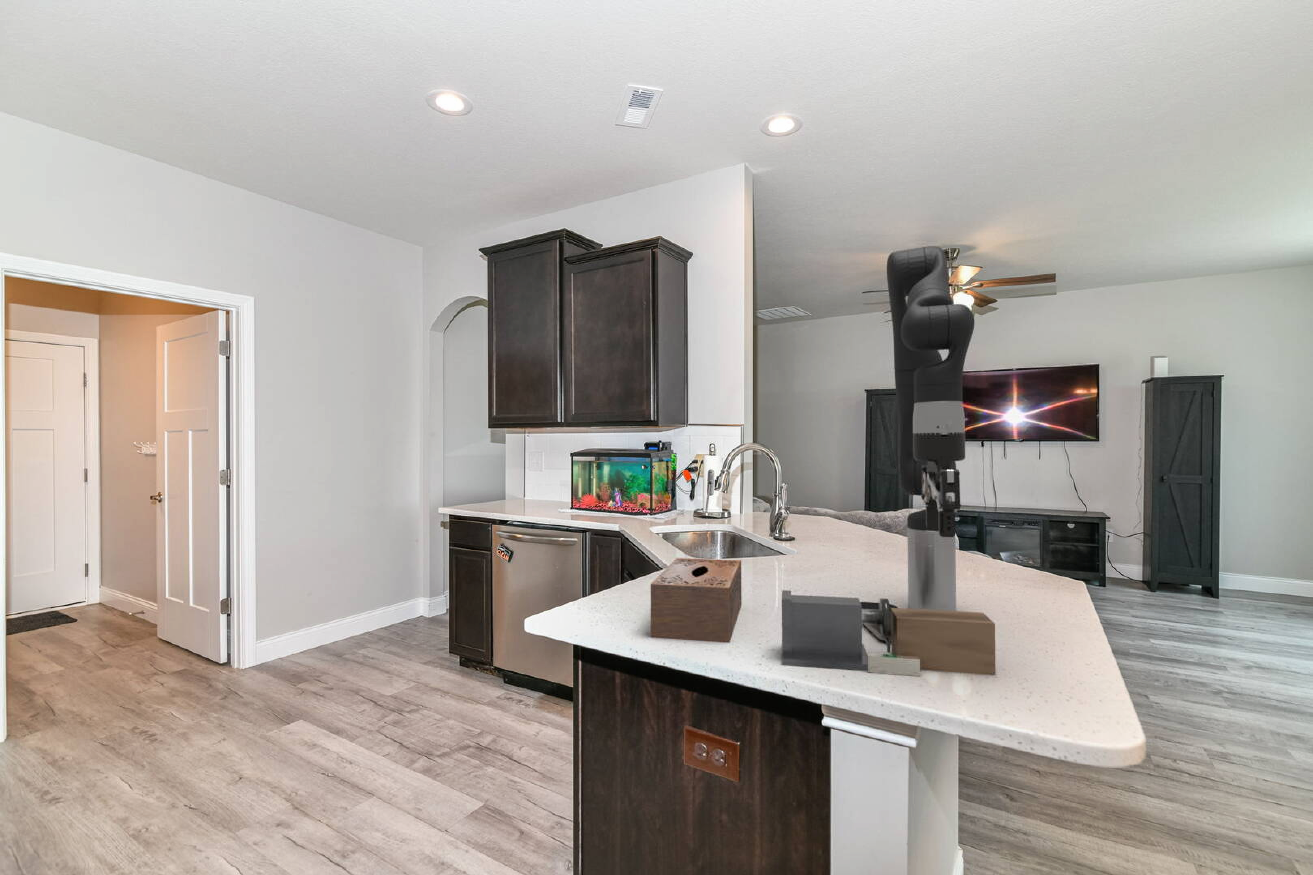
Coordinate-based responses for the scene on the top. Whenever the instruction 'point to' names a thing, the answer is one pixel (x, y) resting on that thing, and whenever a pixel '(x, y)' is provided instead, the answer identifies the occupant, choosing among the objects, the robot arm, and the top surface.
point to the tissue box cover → (696, 600)
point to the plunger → (879, 619)
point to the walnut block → (945, 640)
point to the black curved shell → (875, 628)
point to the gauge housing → (833, 637)
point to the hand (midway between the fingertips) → (940, 532)
